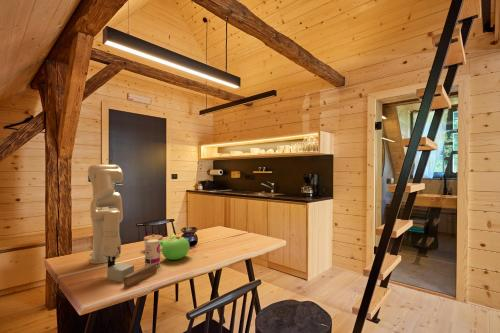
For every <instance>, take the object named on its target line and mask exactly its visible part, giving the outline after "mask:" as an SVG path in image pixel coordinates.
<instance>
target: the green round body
mask: <svg viewBox="0 0 500 333" xmlns="http://www.w3.org/2000/svg"><path fill="white" fill-rule="evenodd" d="M160 245H161V254H162V256H163V257H164V258H166V259H167V260H171V261H174V260H175V261H176V260H180V259H182V258H184V257H185V256H186V255H187V254H188V253H189V250H190V247H191V245H190V242H189V241H188V239H187V238H186V237H184V236H180V235H179V236H178V235H177V236H176V234H175V233H172V234H171V236H170V238H168V239H166V240H162V241H160Z"/></svg>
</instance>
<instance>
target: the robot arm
mask: <svg viewBox="0 0 500 333" xmlns="http://www.w3.org/2000/svg"><path fill="white" fill-rule="evenodd" d="M87 172H88V173H87V174H88V179H89V181H90V184H91V186H92V197H93V198H92V200H91V202H90V207H89V209H90V219H91V226H92V252H91V253H89V257H91V258H90V259H89V263H90V264H93V265H95V264H96V265H98V264H105V263H107V268H108V267H111V266H113V265H116V260H117V259H118V258H120V257H121V256H120V255H121V253H122V240H121V237H120V223H122V222H123V219H124V213H123V212H124V211H123V199H122V196H121V195H122V194H121V193H120V192H117V191H115V186H114V183H121V182H123V181H124V172H123V170H122V168H121V167H120V166H119V165H117V164H102V163H101V164H92V165H89V167H88V168H87Z"/></svg>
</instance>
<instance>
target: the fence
mask: <svg viewBox="0 0 500 333" xmlns="http://www.w3.org/2000/svg"><path fill="white" fill-rule="evenodd" d="M156 273H157V267H156V263H152V264H150V265H147V266H145V265H144V266H143V267H142V268H139V269H137V270H134V272H133V273H131V274H129V275H126V276H124V281H123V287H124V288H127V289H128V288H130V287H132V286H134V285H136V284H138V283H139V282H142V281H143V280H145V279H147V278H149V277H151V276H153V275H155V274H156Z"/></svg>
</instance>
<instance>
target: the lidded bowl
mask: <svg viewBox="0 0 500 333" xmlns="http://www.w3.org/2000/svg"><path fill="white" fill-rule="evenodd" d="M151 239H158V240H159V241H164V240H163V239H164V237H163V235H160V234H154V233H153V234H150V235H147V236H144V237H143V245H144V247H145V244H146V242H147V240H151ZM160 248H162V246H161V245H160Z"/></svg>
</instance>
